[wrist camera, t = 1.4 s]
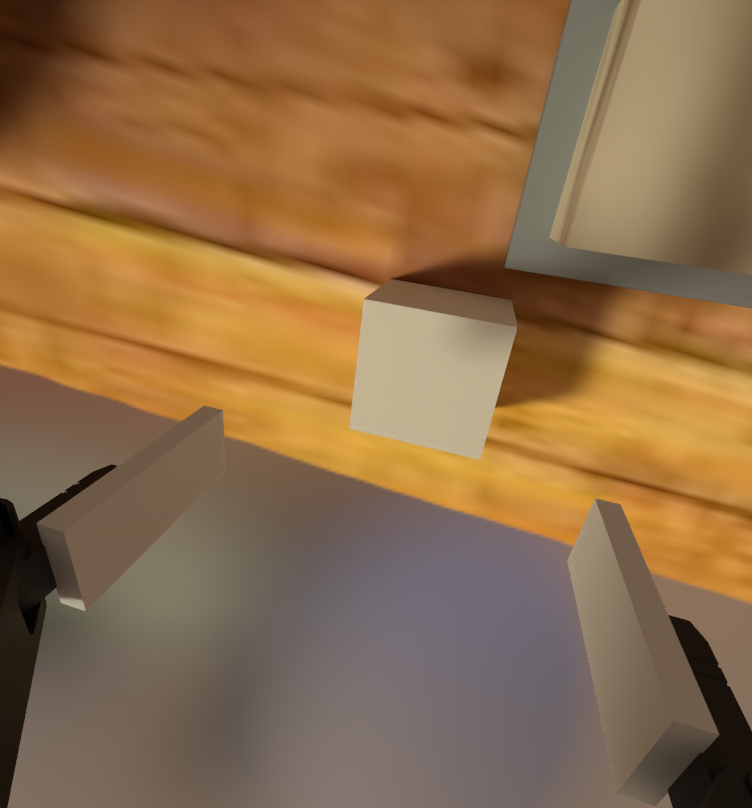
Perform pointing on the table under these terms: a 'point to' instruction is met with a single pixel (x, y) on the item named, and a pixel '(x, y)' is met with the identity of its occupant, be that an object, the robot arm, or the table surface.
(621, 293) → the table surface
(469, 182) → the table surface
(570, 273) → the slate board
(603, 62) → the maple base block
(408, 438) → the cream block
